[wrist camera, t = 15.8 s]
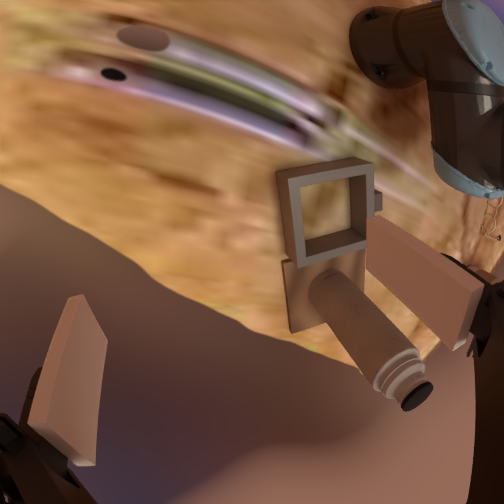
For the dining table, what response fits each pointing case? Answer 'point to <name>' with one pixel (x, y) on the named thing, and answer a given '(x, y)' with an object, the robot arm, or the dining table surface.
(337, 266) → the board
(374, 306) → the thermos bottle
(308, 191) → the dining table surface
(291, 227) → the collar
